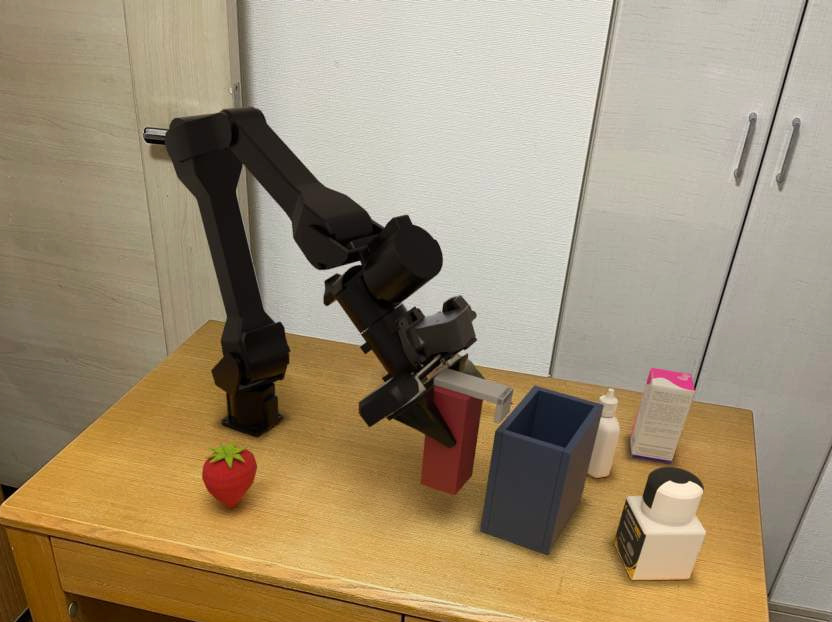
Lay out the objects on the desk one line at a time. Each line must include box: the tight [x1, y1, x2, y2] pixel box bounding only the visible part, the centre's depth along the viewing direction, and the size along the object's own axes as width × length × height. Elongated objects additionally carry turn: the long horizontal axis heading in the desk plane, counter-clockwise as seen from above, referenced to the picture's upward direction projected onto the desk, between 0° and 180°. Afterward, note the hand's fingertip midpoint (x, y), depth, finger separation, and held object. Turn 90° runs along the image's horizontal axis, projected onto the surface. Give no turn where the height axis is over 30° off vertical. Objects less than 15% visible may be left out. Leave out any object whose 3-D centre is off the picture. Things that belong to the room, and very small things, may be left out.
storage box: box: [479, 384, 604, 556], centre depth 97 cm, size 9×13×14 cm
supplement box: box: [629, 367, 696, 464], centre depth 111 cm, size 6×6×12 cm
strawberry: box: [201, 439, 258, 509], centre depth 96 cm, size 6×8×10 cm
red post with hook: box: [419, 368, 515, 497], centre depth 90 cm, size 8×5×13 cm, turn 62°
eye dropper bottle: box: [587, 388, 621, 479], centre depth 107 cm, size 4×6×12 cm
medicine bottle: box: [613, 466, 707, 581], centre depth 92 cm, size 7×7×12 cm
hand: (463, 435), depth 90 cm, fingers closed on red post with hook, 5 cm apart
